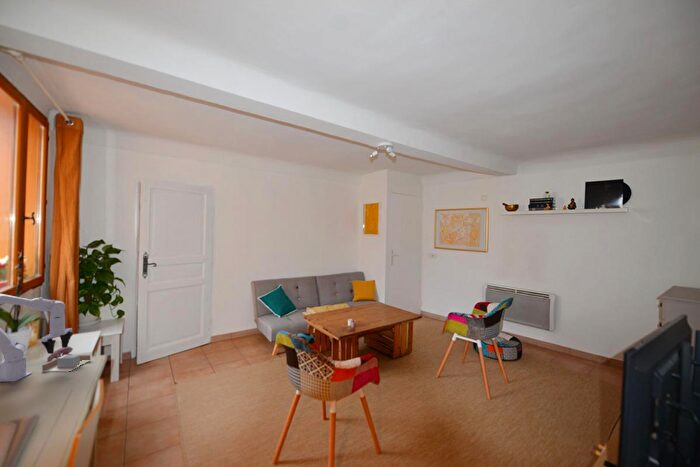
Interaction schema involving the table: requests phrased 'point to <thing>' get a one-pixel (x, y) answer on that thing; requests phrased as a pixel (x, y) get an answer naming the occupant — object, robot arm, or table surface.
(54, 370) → the tray
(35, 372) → the table surface
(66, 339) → the robot arm
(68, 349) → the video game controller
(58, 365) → the slate block
